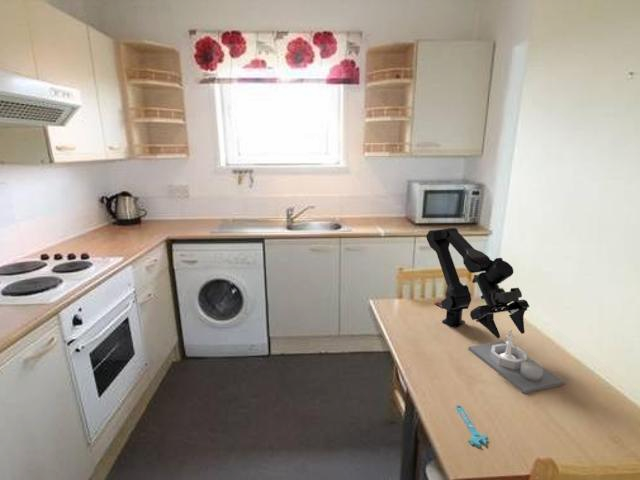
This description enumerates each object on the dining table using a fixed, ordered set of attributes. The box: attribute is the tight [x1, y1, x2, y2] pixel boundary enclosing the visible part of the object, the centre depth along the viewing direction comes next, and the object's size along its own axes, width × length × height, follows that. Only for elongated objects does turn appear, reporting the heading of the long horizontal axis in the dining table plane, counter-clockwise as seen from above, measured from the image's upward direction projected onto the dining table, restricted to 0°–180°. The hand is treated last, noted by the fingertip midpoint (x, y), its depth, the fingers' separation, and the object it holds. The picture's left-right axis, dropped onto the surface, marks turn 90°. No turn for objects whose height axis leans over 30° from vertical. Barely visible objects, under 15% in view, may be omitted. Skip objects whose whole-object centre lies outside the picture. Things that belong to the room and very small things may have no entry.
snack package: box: [434, 299, 444, 309], centre depth 160 cm, size 12×2×5 cm
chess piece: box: [500, 329, 516, 360], centre depth 116 cm, size 5×5×10 cm
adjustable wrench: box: [455, 404, 489, 448], centre depth 91 cm, size 14×1×5 cm
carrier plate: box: [467, 340, 565, 395], centre depth 115 cm, size 24×14×4 cm, turn 16°
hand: (511, 335), depth 115 cm, fingers open, 9 cm apart
